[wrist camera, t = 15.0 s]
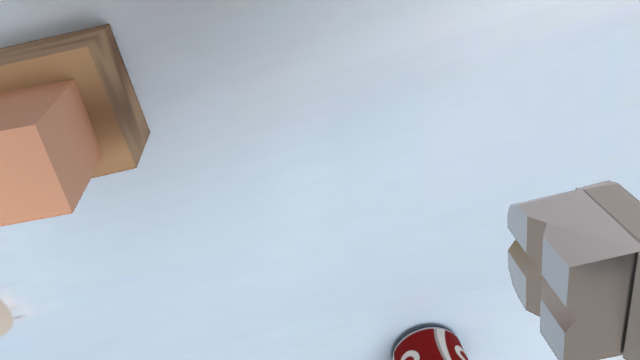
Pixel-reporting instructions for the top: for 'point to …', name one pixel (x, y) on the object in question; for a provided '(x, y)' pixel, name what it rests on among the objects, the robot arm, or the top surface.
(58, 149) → the terracotta block
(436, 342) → the soda can
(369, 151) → the top surface
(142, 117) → the walnut block
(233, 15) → the top surface
